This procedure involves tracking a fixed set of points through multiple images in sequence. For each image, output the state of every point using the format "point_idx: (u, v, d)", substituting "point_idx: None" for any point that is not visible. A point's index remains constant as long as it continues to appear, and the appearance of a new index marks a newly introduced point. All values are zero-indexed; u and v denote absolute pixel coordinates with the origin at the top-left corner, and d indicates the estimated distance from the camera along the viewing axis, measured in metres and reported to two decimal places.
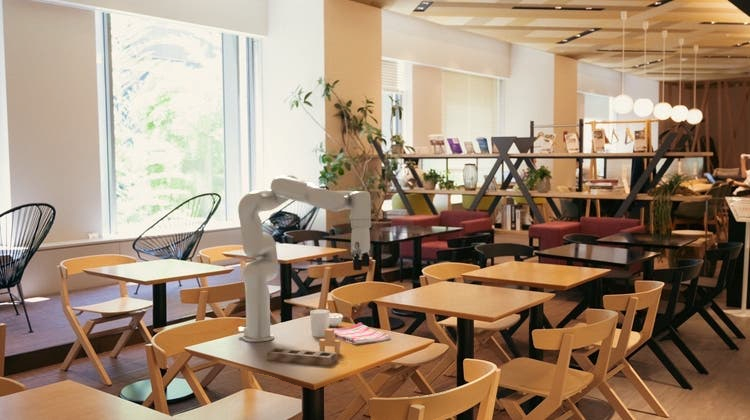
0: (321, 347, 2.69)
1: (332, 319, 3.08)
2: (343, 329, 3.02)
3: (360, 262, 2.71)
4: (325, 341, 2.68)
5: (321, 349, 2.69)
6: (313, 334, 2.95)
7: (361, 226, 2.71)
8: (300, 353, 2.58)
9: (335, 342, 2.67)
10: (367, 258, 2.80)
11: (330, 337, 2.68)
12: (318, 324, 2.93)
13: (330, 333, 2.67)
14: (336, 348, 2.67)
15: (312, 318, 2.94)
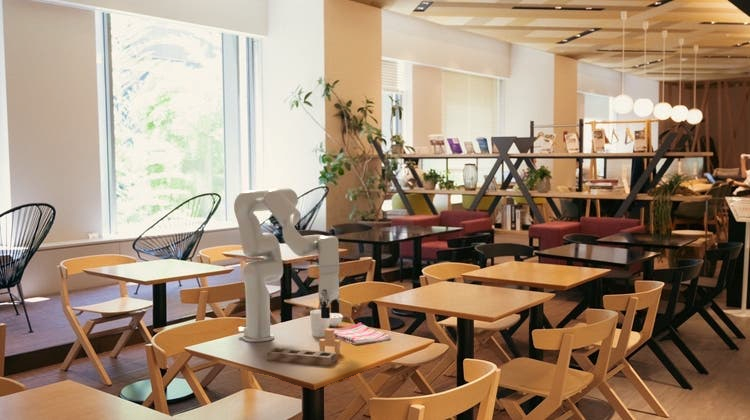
0: (321, 347, 2.69)
1: (332, 319, 3.08)
2: (343, 329, 3.02)
3: (328, 310, 2.63)
4: (325, 341, 2.68)
5: (321, 349, 2.69)
6: (313, 334, 2.95)
7: (329, 273, 2.63)
8: (300, 353, 2.58)
9: (335, 342, 2.67)
10: (336, 304, 2.72)
11: (330, 337, 2.68)
12: (318, 324, 2.93)
13: (330, 333, 2.67)
14: (336, 348, 2.67)
15: (312, 318, 2.94)
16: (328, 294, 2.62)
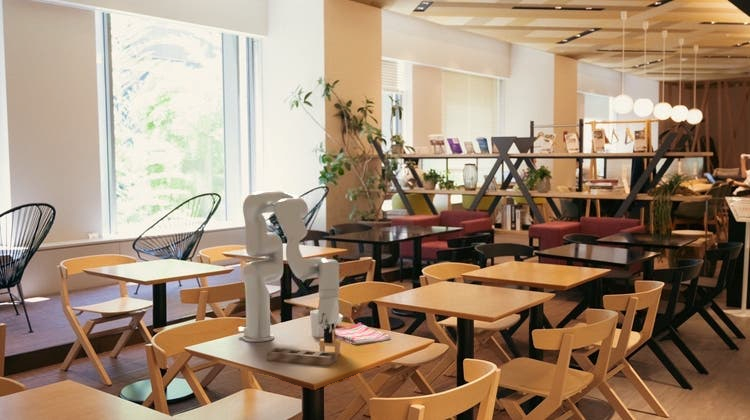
0: (321, 347, 2.69)
1: None
2: (343, 329, 3.02)
3: (331, 335, 2.67)
4: None
5: (321, 349, 2.69)
6: (313, 334, 2.95)
7: (329, 296, 2.64)
8: (300, 353, 2.58)
9: (335, 342, 2.67)
10: None
11: None
12: (318, 324, 2.93)
13: None
14: (336, 348, 2.67)
15: (312, 318, 2.94)
16: (328, 318, 2.63)
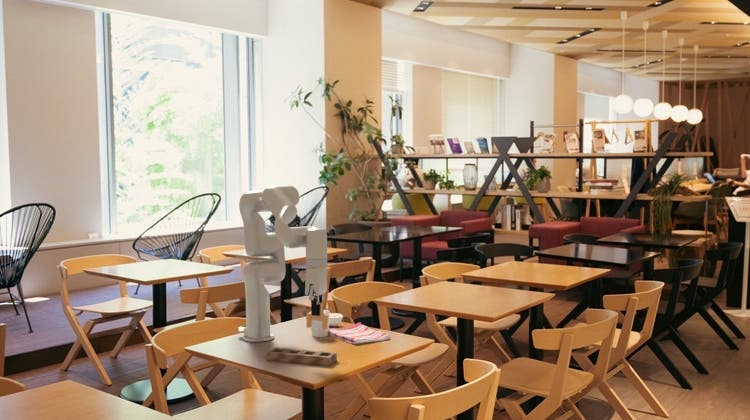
0: (308, 321, 2.57)
1: (332, 319, 3.08)
2: (342, 329, 3.02)
3: (318, 307, 2.55)
4: (313, 315, 2.56)
5: (308, 323, 2.57)
6: (313, 334, 2.95)
7: (316, 266, 2.52)
8: (300, 353, 2.58)
9: (323, 316, 2.55)
10: None
11: None
12: (318, 324, 2.93)
13: None
14: (324, 323, 2.55)
15: None
16: (315, 289, 2.51)
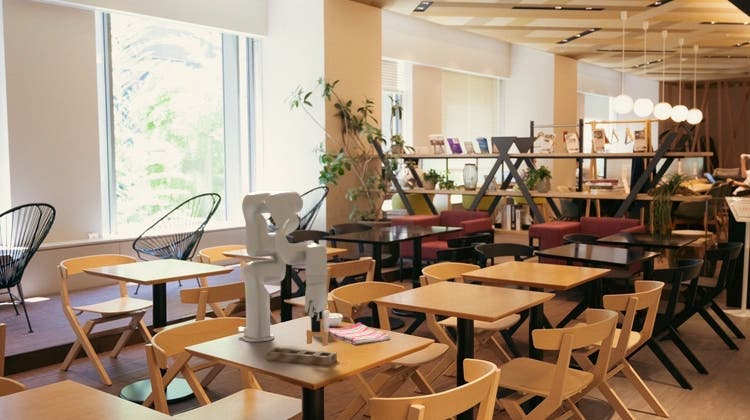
0: (308, 337, 2.57)
1: (332, 319, 3.08)
2: (342, 329, 3.02)
3: (318, 323, 2.55)
4: None
5: (308, 339, 2.57)
6: None
7: (316, 283, 2.52)
8: (300, 353, 2.58)
9: (323, 333, 2.55)
10: None
11: None
12: None
13: None
14: (324, 339, 2.55)
15: None
16: (315, 305, 2.51)
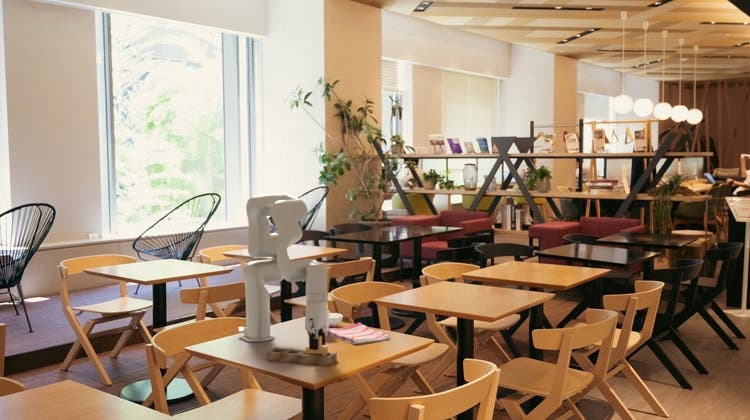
0: None
1: (332, 319, 3.08)
2: (342, 329, 3.02)
3: (316, 341, 2.54)
4: None
5: None
6: None
7: (316, 301, 2.53)
8: (300, 353, 2.58)
9: (322, 349, 2.56)
10: (322, 336, 2.60)
11: None
12: None
13: None
14: None
15: None
16: (315, 323, 2.52)
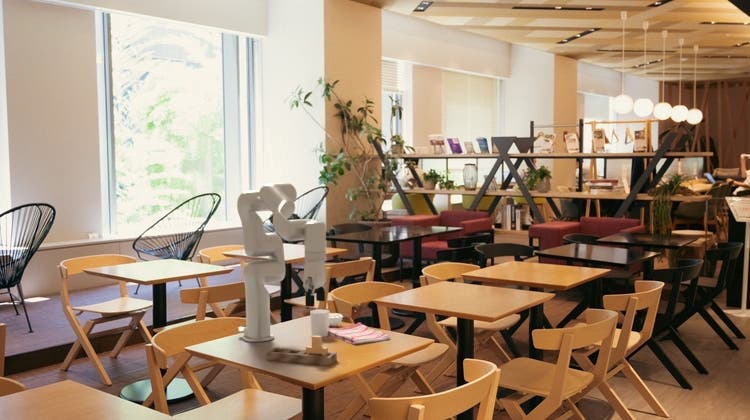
0: None
1: (332, 319, 3.08)
2: (342, 329, 3.02)
3: (313, 298, 2.53)
4: (312, 348, 2.57)
5: None
6: (313, 334, 2.95)
7: (314, 259, 2.53)
8: (300, 353, 2.58)
9: (322, 349, 2.56)
10: (322, 292, 2.62)
11: (317, 344, 2.56)
12: (318, 324, 2.93)
13: (317, 340, 2.56)
14: None
15: (312, 318, 2.94)
16: (313, 282, 2.52)
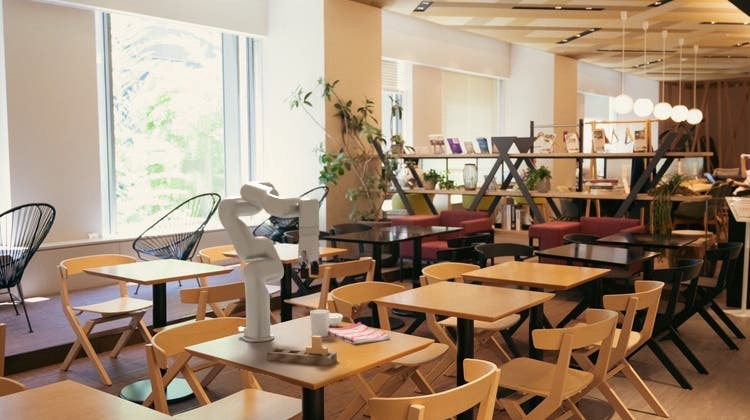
0: None
1: (332, 319, 3.08)
2: (342, 329, 3.02)
3: (307, 271, 2.65)
4: (312, 348, 2.57)
5: None
6: (313, 334, 2.95)
7: (308, 234, 2.66)
8: (300, 353, 2.58)
9: (322, 349, 2.56)
10: (316, 266, 2.74)
11: (317, 344, 2.56)
12: (318, 324, 2.93)
13: (317, 340, 2.56)
14: None
15: (312, 318, 2.94)
16: (307, 255, 2.65)
